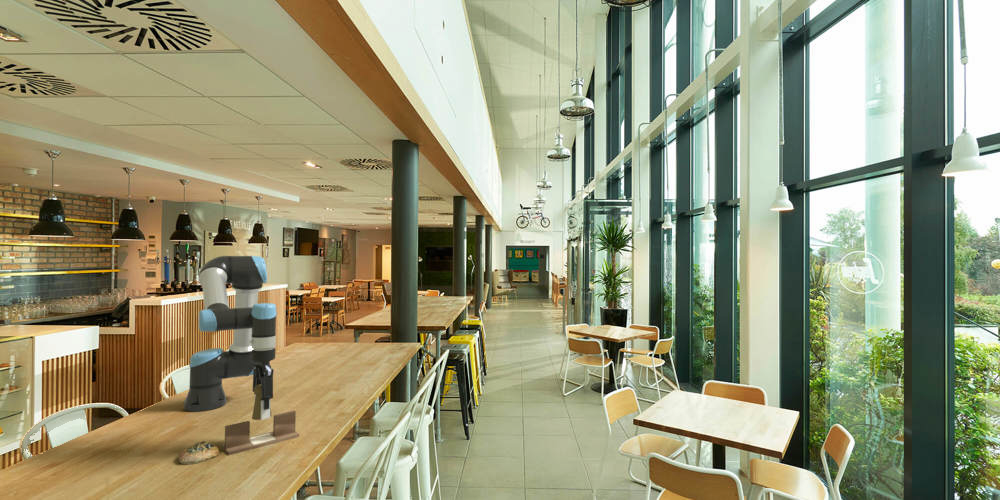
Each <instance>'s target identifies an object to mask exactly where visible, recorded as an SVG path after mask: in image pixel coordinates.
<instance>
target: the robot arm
mask: <svg viewBox="0 0 1000 500" xmlns="http://www.w3.org/2000/svg"><path fill="white" fill-rule="evenodd" d="M198 272H199V273H198V282H199V284H200V286H202V295H203V296H202V297H203V305H204V306H203V307H204V309H201V310H199V313H198V330H199V331H200V332H211V333H213V332H219V331H233V339H232V340H233V341H232V343H231V344H230V345H229V346H228V350H224V349H223V348H222V347H217V348H209V349H204V350H200V351H197V352H194V354H192V355H191V357H190V359H189V360H190V361H189V389H188V393H187V394H186V397H185V400H184V402H183V410H184V411H187V412H205V411H210V410H215V409H217V408H221V407H223V406H225V405H227V396H226V392H225V390H224V388H223V380H226V379H232V378H239V377H240V378H241V377H242V378H243V377H249V376H252V393H254V388H255V387H256V386H257V385H260V384H261V389H262V399H260V401H261V421H262V420H267V419H270V418H271V417H270V406H271V399H273V397H274V371H275V370H274V368H272V366H271V363H270V362H271V361H274V360H275V359H276V348H275V347H277V334H276V332H277V331H276V330H277V329H276V328H277V314H278V312H277V305H276V304H275V303H270V302H264V303H258V302H259V291H260V290H262V288H263V285H264V284H266V283H268V273H267V272H268V271H267V264H266V261H265V259H264V258H263V256H258V255H257V256H256V255H220V256H216V257H214V258H212V259H210V260H208V261H207V262H206V263H205V264H203V266H201V268H200V269H199V271H198ZM226 284H231V288H232V289H233V290H234V292H235V297H234V301H235V302H234V308H233V307H231V308H230V304H229V299H228V293H227V292H228V291H227V285H226ZM255 397H256V395H255V394H254V398H255Z"/></svg>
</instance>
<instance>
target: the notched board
mask: <svg viewBox="0 0 1000 500" xmlns="http://www.w3.org/2000/svg"><path fill="white" fill-rule="evenodd" d="M296 415H297V413H296V410H292V411H287V412H283V413H278V414H273V419H272V420H273V424H272V425H273V426H272V427H273V429H272V430H273V431H270V432H266V433H262V434H257V435H253V436H250V434H251V432H250V431H251V422H250V421H249V420H247V421H242V422H238V423H233V424H228V425H225V426H224V443H221V448H222V449H223V450H224V451H225V453H227V455H228V456H230V455H235V454H238V453H242V452H245V451H250V450H254V449H256V448H261V447H265V446H269V445H272V444H273V445H274V444H276V443H277V444H278V443H280V442H283V441H284V442H285V441H287V440H290V439H295V438H300V433H299V432H297V431H296V422H297V421H296Z"/></svg>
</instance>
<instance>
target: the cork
mask: <svg viewBox="0 0 1000 500" xmlns="http://www.w3.org/2000/svg"><path fill="white" fill-rule="evenodd" d="M253 394H254V402H253V403H254V405H253V411H252V418H251V419H252V420H255V421H260V420H261V401H260V399H262V389H261V384H260V385H257V386H256V387H255V388H254V392H253ZM255 395H256V397H255ZM272 416H273V415H272V407H271V405H270V418H271V417H272ZM261 421H262V420H261Z"/></svg>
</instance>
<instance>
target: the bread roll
mask: <svg viewBox="0 0 1000 500" xmlns="http://www.w3.org/2000/svg"><path fill="white" fill-rule="evenodd" d="M219 454H220V450H219V447H218V446H216V445H215V444H214V443H209V441H206V442H205V440H203V441H201V442H196V443H195V444H193V445H191V446H188V447H187V448H184V449H183V451H181V452H180V454H179V456H178V461H179V464H181V465H188V466H189V465H195V464H199V463H204V462H206V461H209V460H211V459H212V458H215V457H217V456H218V455H219Z"/></svg>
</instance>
